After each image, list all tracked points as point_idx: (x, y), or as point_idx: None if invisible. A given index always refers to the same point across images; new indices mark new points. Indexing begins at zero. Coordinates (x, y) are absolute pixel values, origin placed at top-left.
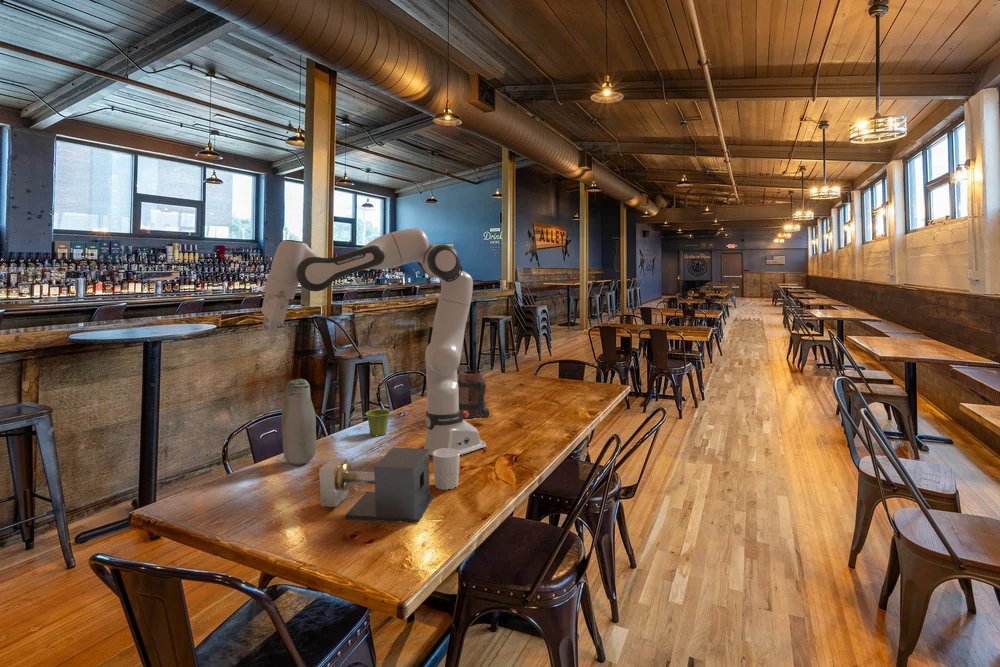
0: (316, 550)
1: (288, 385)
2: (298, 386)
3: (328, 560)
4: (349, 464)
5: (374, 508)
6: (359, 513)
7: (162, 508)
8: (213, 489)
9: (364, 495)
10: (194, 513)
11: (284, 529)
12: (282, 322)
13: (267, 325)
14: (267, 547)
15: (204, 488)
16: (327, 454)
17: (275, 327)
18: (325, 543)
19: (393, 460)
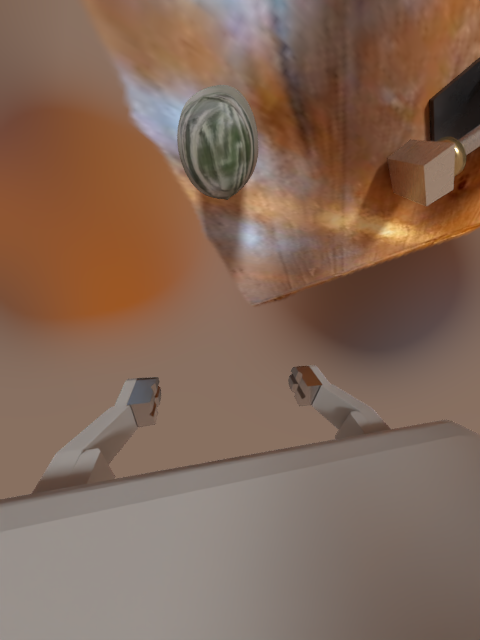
0: (433, 225)
1: (230, 196)
2: (251, 166)
3: (454, 223)
4: (462, 147)
5: (474, 127)
6: None
7: (255, 296)
8: (242, 263)
9: (436, 114)
10: (282, 281)
11: (377, 235)
12: (473, 434)
13: (152, 411)
14: (385, 253)
15: (234, 269)
16: (202, 47)
17: (357, 405)
18: (435, 215)
19: None
